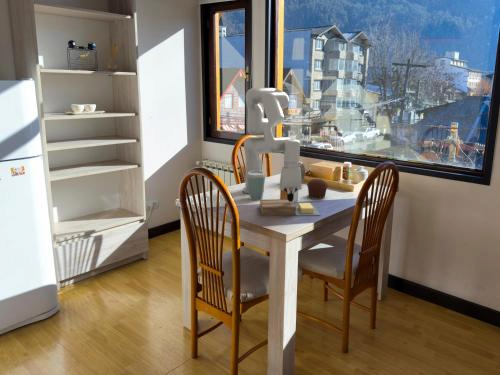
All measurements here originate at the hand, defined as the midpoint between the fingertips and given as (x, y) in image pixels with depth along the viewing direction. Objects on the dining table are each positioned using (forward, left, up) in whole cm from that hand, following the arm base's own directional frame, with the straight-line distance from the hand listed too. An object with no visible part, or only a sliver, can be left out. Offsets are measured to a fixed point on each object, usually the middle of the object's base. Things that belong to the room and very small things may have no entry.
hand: (290, 200), depth 206 cm
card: (+1, +8, -2) cm, 8 cm away
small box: (-19, +3, -5) cm, 20 cm away
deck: (0, -6, -5) cm, 8 cm away
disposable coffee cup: (-23, -15, -5) cm, 28 cm away
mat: (0, +8, -5) cm, 9 cm away
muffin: (-26, +20, -5) cm, 33 cm away
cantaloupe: (-55, +12, -5) cm, 56 cm away
